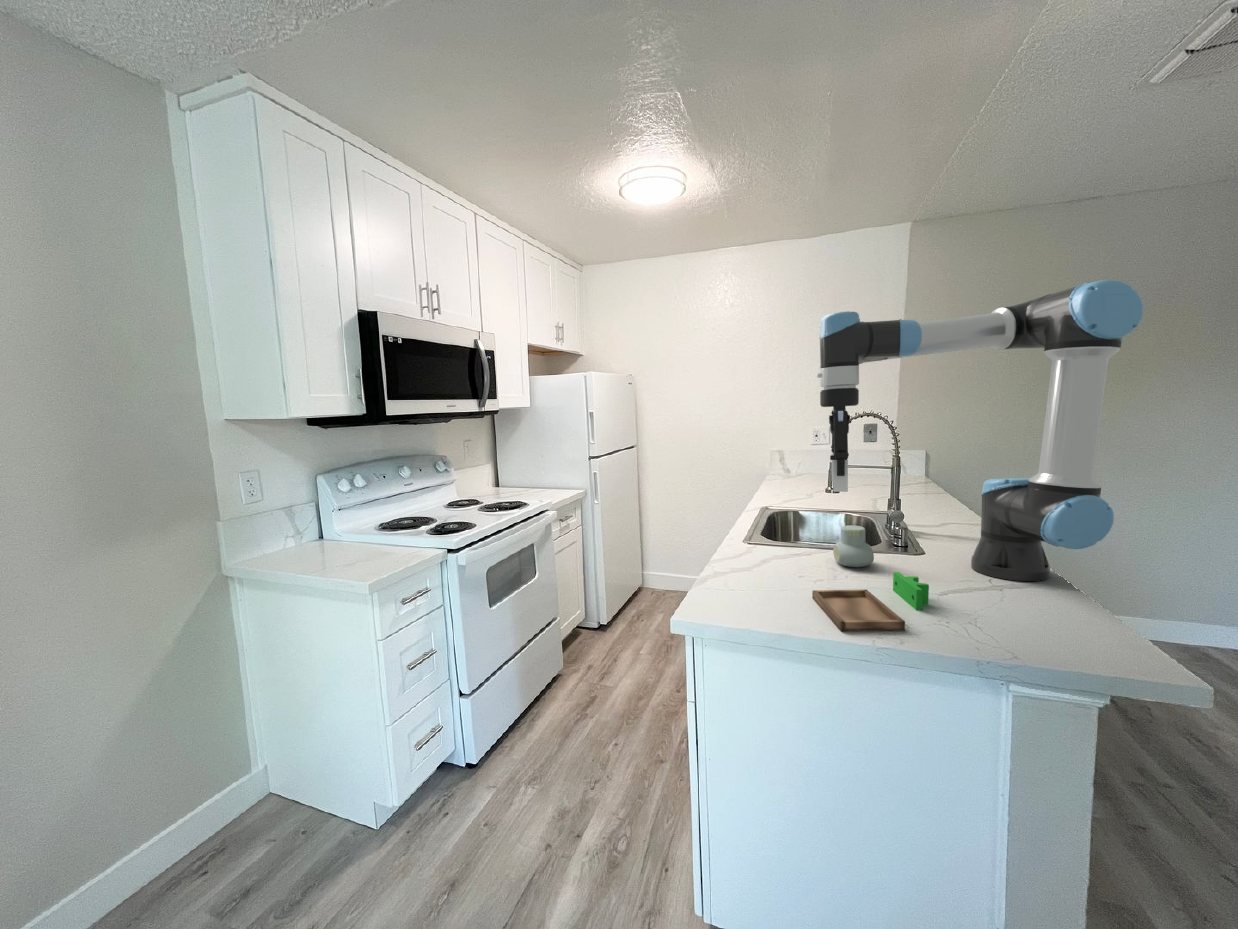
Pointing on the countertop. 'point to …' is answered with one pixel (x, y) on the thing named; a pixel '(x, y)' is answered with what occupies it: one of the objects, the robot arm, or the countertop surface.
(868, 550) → the air freshener
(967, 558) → the countertop surface
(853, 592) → the tray
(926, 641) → the countertop surface
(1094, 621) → the countertop surface
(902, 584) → the pipe clamp
